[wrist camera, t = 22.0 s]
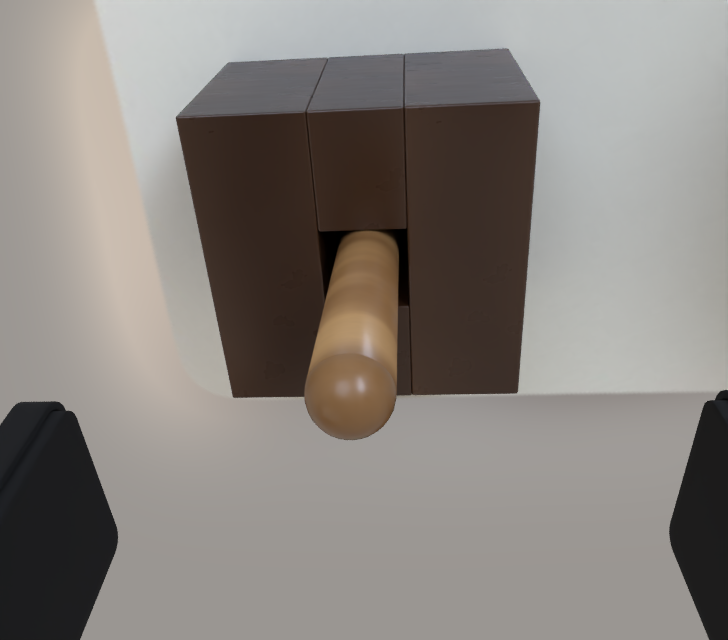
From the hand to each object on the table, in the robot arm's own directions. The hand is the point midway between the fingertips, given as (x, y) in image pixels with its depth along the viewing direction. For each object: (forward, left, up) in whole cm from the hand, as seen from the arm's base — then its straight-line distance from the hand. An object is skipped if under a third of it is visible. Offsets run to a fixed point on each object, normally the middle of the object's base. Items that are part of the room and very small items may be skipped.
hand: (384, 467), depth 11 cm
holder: (+1, -3, -19) cm, 19 cm away
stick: (+2, -3, -19) cm, 19 cm away
